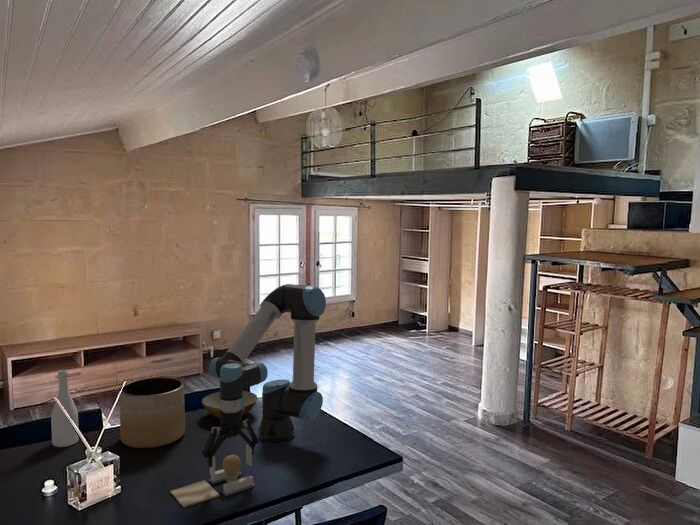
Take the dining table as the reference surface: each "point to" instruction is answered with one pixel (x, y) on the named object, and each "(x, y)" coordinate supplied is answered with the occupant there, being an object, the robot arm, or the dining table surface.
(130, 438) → the planter
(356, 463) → the dining table surface
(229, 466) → the light bulb
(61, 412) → the wine bottle
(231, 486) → the socket rails
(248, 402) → the bowl
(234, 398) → the robot arm
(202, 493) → the square wooden board
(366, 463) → the dining table surface
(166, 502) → the dining table surface
